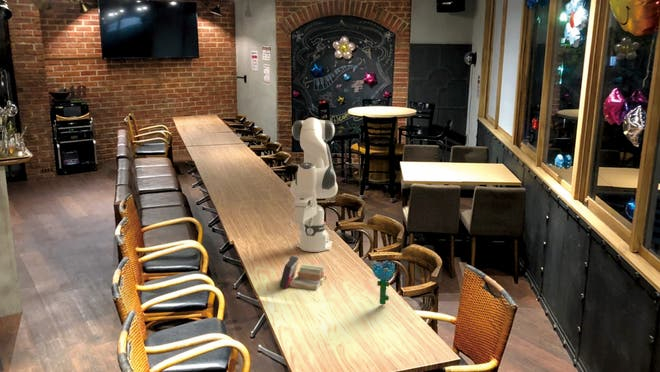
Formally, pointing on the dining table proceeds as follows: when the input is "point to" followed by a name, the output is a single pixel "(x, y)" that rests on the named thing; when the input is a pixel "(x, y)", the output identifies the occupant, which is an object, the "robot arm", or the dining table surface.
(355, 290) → the dining table surface
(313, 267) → the sticky note pad set
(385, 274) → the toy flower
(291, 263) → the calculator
